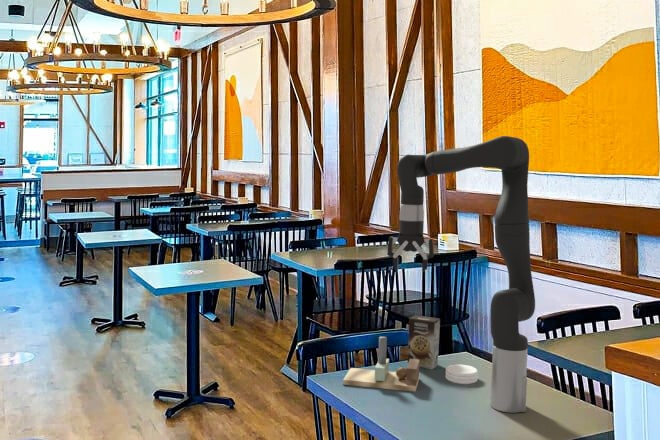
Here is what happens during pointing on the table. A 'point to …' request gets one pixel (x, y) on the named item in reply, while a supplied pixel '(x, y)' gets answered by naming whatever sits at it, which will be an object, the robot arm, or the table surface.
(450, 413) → the table surface
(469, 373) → the white bowl
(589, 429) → the table surface
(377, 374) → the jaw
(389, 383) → the base
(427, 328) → the coffee box
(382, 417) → the table surface
